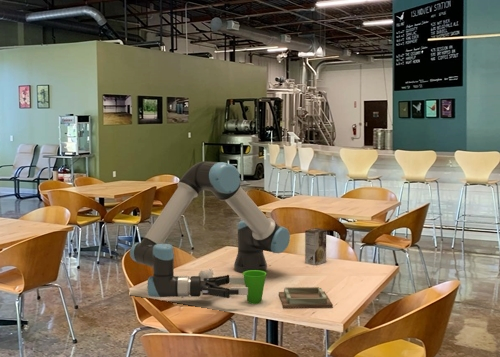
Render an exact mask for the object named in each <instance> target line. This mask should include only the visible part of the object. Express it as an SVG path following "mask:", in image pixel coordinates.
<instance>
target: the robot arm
mask: <svg viewBox="0 0 500 357" xmlns="http://www.w3.org/2000/svg"><path fill="white" fill-rule="evenodd" d="M240 176H241V174H240V172H239V170H238V169H237V167H236V166H235V165H234V164H231V163H228V162H222V161H221V162H218V161H205V160H204V161H199V162H197V163H195V164H194V165H192V166H191V167H190V168H188V170H186V172H185V173H184V174H183V175H182V176H181V178H180V179H179V181H178V183H177V188H176V189H175V191H174V193H173V194H172V196H171V197H170V199H169V200H168V202H167V203H166V204H165V206H164V208H163V209H162V210H161V212H160V214H158V217H157V218H156V219H155V221H154V222H153V224H152V225H151V227H150V228H149V230H148V231H147V232H146V234H145V235H144V237H143V239H142V240H141V242H136V243H134V244H133V245H132V246H131V248H130V249H129V256H130V258H131V260H132V261H134V262H136V263H138V264H139V265H145V266H147V267H150V268H152V276H149V277H148V278H147V285H146V286H147V288H146V289H147V295H148V297H152V298H171V297H172V298H173V297H175V298H178V297H180V298H181V299H184V298H185V297H188V298H189V296H190V297H193V298H195V297H196V298H197V297H201V294H202V295H203V296H213V297H219V298H227V299H230V297H231V296H247V295H248V287H245V286H244V287H243V286H242V287H241V286H240V287H235V286H234V287H229V288H228V287H224V286H226V285H228V284H229V285H245V281H244V276H230V275H229V274H225V275H220V276H213V277H212V278H204V281H201V277H200V276H199V275H191V276H189V275H179V276H178V275H175V273H174V271H175V270H174V269H175V268H174V264H175V262H174V258H175V253H174V247H173V245H172V244H169V243H165V241H166V239H168V238H169V235H170V234H171V232H172V231H173V230H174V228H175V226H176V225H177V223H178V222H179V220H180V219H181V217H182V216H183V215H184V213H185V211H186V210H187V208H188V207H189V206H190V204H191V202H192V201H193V200H194V198H197V197H199V195H200V193H201V192H203V191H207V192H209V191H210V192H211V193H213V195H214V196H215V197H216V198H217V199H218V200H219V201H225V203H227V205H228V206H229V207H230V208H231V209H232V210H233V211H234V213H235V214H236V215H237V216H238V217H239V218H240V219H241V220H240V221H239V222H238V224H237V253H236V254H237V255H236V258H235V260H234V264H233V270H234V271H235V272H238V273H241V274H243V272H245V271H249V270H260V271H264V272H266V271H267V270H268V263H267V261H266V257H265V255H264V251H265V252H270V253H272V254H281V253H283V252H284V251H285V252H286V249H287V248H288V246H289V245H290V238H291V234H290V232H289V229H288V228H287V227H285V226H280V225H279V224H278V223H277V222H276V221H275V220H274V219H273V218H271V217H267V215H265V213H264V212H263V211H262V210H261V209H260V208H259V207H258V206H257V204H256V203H255V202H254V200H253V199H252V198H251V197H250V196H249V194H248V193H247V192H246V191H245V190H244V189H243V188H242V186H241V185H242V181H241V178H240Z"/></svg>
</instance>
